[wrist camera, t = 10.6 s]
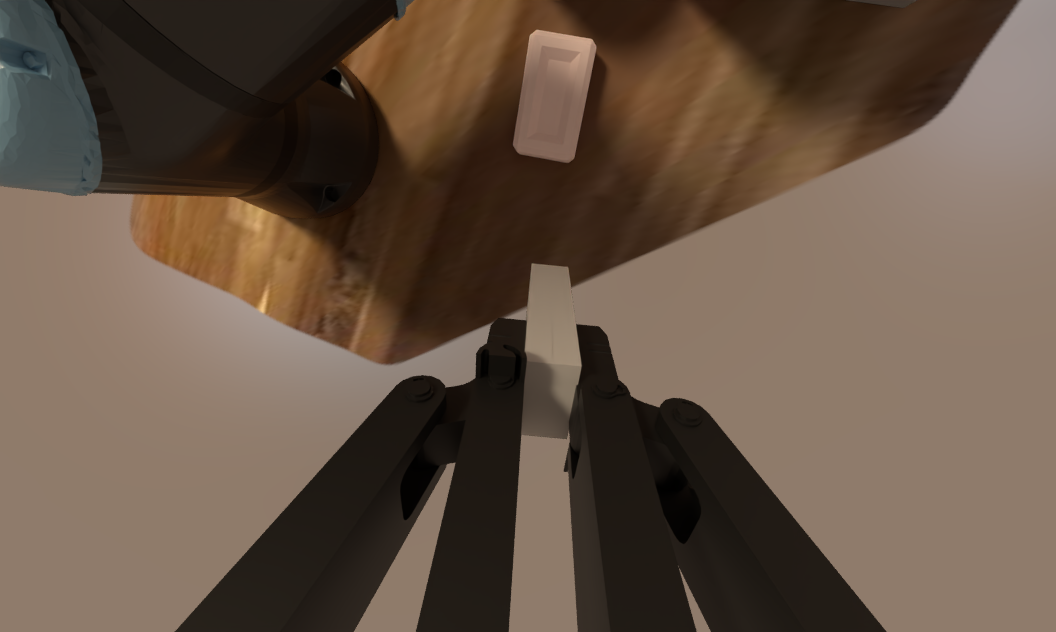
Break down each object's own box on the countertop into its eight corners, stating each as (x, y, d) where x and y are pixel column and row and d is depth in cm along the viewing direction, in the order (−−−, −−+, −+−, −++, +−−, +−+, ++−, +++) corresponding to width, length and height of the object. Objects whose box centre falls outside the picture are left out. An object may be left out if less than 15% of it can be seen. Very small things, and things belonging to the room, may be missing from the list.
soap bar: (515, 153, 35) (511, 150, 33) (533, 39, 32) (530, 26, 30) (573, 164, 35) (573, 161, 32) (596, 50, 32) (598, 38, 30)
